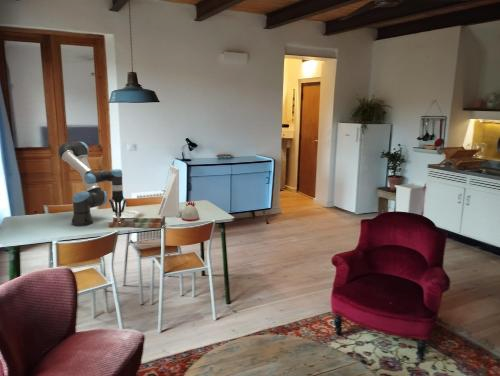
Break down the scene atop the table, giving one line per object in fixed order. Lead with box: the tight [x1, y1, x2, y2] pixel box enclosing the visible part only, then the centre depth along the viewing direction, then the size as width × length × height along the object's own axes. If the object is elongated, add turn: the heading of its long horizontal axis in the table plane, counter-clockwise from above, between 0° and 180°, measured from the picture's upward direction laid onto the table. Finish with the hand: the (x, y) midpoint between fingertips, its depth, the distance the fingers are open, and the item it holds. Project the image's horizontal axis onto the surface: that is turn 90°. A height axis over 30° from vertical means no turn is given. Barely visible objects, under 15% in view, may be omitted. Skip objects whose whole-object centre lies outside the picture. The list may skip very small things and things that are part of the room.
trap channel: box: [107, 216, 166, 229], centre depth 307 cm, size 39×14×5 cm, turn 94°
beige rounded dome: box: [181, 200, 200, 222], centre depth 327 cm, size 14×14×15 cm
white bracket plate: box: [156, 165, 180, 218], centre depth 334 cm, size 20×14×40 cm
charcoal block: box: [123, 219, 135, 223], centre depth 307 cm, size 7×7×4 cm
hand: (118, 220), depth 306 cm, fingers closed
